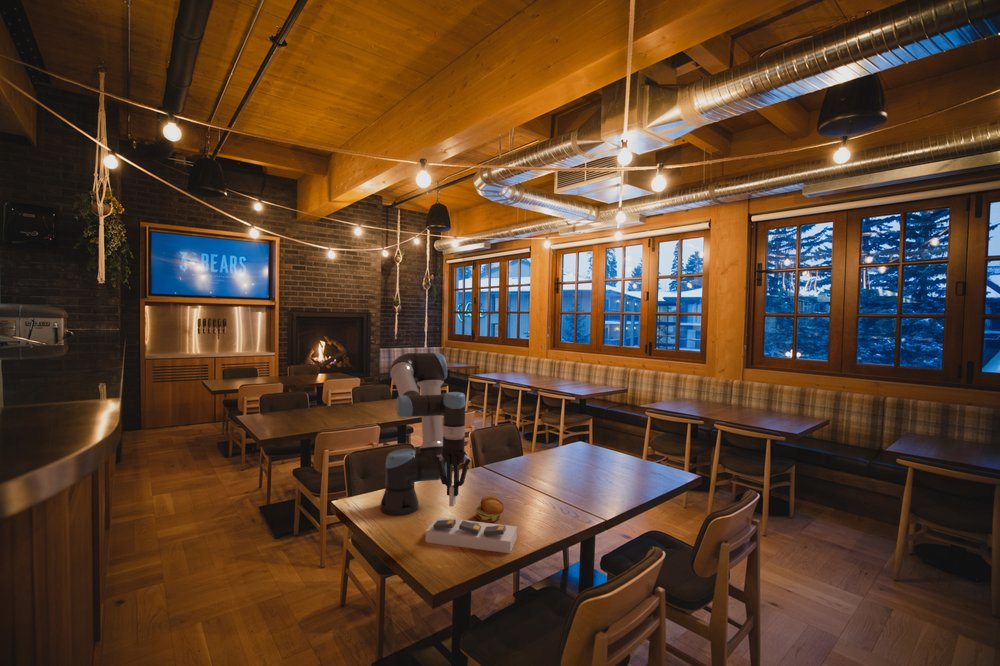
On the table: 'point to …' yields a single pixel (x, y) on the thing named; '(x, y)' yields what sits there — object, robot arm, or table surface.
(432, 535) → the rocker switch panel
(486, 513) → the cheeseburger
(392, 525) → the table surface
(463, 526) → the rocker middle
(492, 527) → the rocker right
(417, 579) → the table surface
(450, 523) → the rocker left
